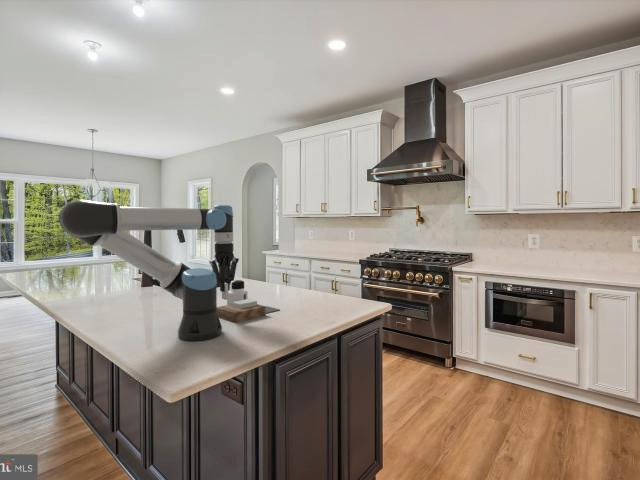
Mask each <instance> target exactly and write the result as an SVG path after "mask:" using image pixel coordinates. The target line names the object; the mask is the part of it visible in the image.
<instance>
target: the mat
mask: <svg viewBox="0 0 640 480" xmlns="http://www.w3.org/2000/svg"><path fill="white" fill-rule="evenodd" d="M264 306H265V305H264ZM265 311H266V314H271V313H274V312H278V311H279V312H280V311H281V309H279V308H276V307H272V306H267V305H266V306H265Z"/></svg>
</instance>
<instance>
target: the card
mask: <svg viewBox="0 0 640 480" xmlns="http://www.w3.org/2000/svg"><path fill="white" fill-rule="evenodd" d="M257 304H258V300H255V299H251V298H248V299H246V300H240V301H235V302H232V307H235V308H238V309H242V308H247V307H252V306H257Z"/></svg>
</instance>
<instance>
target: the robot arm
mask: <svg viewBox="0 0 640 480" xmlns="http://www.w3.org/2000/svg"><path fill="white" fill-rule="evenodd" d="M233 213H234V212H233V206H231V205H227V204H226V205H225V204H224V205H223V204H222V205H221V204H220V205H216V204H215V205H214V206H213V208H189V207H187V208H185V207H184V208H183V207H182V208H181V207H147V206H146V207H144V206H143V207H142V206H120V205H118V204H117V203H115V202H114V203H110V202H100V201H99V202H98V201H94V200H88V199H78V200H73V201H70V202H69V203H66V205H64V206H63V207H62V208H61V210H60V211H59V215H58V222H59V225H60V227H61V229H62V230H63V231H64V232H65V233H67V234H69V235H71V236H74V237H75V238H77V239H79V240H80V241H82V242H84V243H85V244H87V245H88V246H91V247H98V246H100V247H101V248H103V249H104V250H107V251H108V252H109V253H111V254H112V255H115V256H116V257H118V258H120V259H122V260H123V261H124V262H126V263H128V264H130V265H131V266H133V267H135V268H136V269H138V270H140V271H142V272H143V273H145V274H147V275H148V276H149V277H152V278H153V279H155V280H157V281H158V282H159V285H160V288H161V289H163V290H164V291H166V292H168V293H170V294H171V295H172V296H174V297H175V298H178V299H180V300H182V317H181V321H180V323H179V326H178V330H177V332H178V333H177V337H178V338H179V339H180V340H182V341H187V342H188V341H190V342H198V341H207V340H212V339H215V338H218V337H219V336H220V335H222V334H223V327H222V323H221V320H220V318H219V317H218V314H217V307H218V305H217V304H218V303H217V301H218V300H217V297H218V295H217V294H218V293H217V291H218V290H217V284H219V291H220V292H221V299H223V300H226V301H227V299H228V292H230V291H231V290H230V283H231V281H234V280H235V275H236V271H237V270H236V269H237V266H238V263H239V260H240V259H239V258H238V257H235V255H234V243H233V242H234V214H233ZM180 230H181V231H185V230H188V231H189V230H191V231H193V230H197V231H198V230H202V231H203V230H213V231H214V233H213V234H214V237H213V238H214V240H213V241H214V242H215V243H214V253H215V254H214V257H213V259H211V260H208V263H209V264H210V266H211V269H208V268H197V267H195V268H191V267H189V266H188V265H186V264H185V263H183V262H181V261H175V262H174V261H172V260H171V259H170V258H168V257H166V256H164V255H162V254H161V253H159V252H158V251H157V250H156V249H153V248H152V247H150V246H149V245H147V244H146V243H145V242H143V241H141V240H140V239H138V238H137V237H135V236H134V235H132V234H130V233H129V232H127V231H180Z"/></svg>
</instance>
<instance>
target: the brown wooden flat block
mask: <svg viewBox="0 0 640 480" xmlns="http://www.w3.org/2000/svg"><path fill="white" fill-rule="evenodd" d="M217 314H218V317H219V319H222V320H225V321H228V322H230V323H234V324H235V323H239V322H244V321H246V320H252V319H256V318H259V317H264V316H266V311H265V305H262V304H258V303H257V306H252V307H247V308H242V309H238V308H235V307H232V304H230V305H227V304H226V305H221V306H217Z"/></svg>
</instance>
